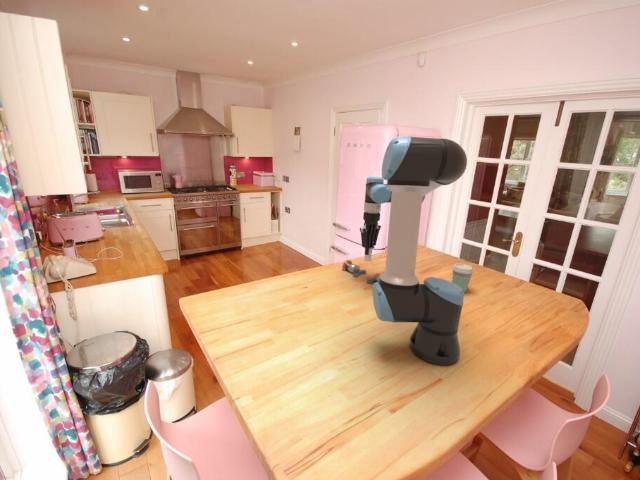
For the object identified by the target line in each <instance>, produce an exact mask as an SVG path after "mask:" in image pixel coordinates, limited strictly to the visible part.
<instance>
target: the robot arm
mask: <svg viewBox="0 0 640 480" xmlns="http://www.w3.org/2000/svg"><path fill="white" fill-rule="evenodd" d="M467 166H468V157H467V154H466V151H465V150H464V148H463V147H462V146H461V145H460V144H459V143H458V142H456V141H454V140H451V139H448V138H434V137H421V136H420V137H419V136H398V137H394V138H392V139H391V140H390V141H389V143H388V145H387V147H386V149H385V152H384V155H383V159H382V164H381V177H380V176H379V177H378V176H368V177H367V178H366V181H365V191H364V192H365V193H364V194H365V195H364V202H363V203H364V205H363V211H364V212H363V216H362V217H363V218H362V219H363V221H364V223H363V226H362V227H360V228H359V232H360V238H361V247H362V248H364V261H366V262H367V263H371V262H372V253H373V249H375V247H376V245H377V241H378V238H379V234H380V230H381V228H382V226H381V225H380V224H379V222H380V219H381V209H382V204H388V203H389V204H390V209H389V210H390V211H389V223H388V230H387V232H388V233H387V246H386V255H385V256H386V258H385V268H384V269H385V270H384V272H383V273H381V275H380V279H379V283H378V282H376V283H373V284H372V285H373V286H372V299H373V300H372V301H373V306H374V313H375V314H376V317H377V318H378V320H380V321H382V322H387V323H388V322H389V323H417V324H416V326H415V328H414V330H413V331H412V334H410V337H409V344H408V345H409V348H410V351H412V353H413V354H414V355H416V356H417V357H418V358H420V359H422V360H424V361H425V362H428V363H431V364H435V365H442V366H443V365H444V366H445V365H452V364H455V363H456V362H458V361H459V358H460V353H461V348H460V341H459V336H458V331H459V325H460V321H461V315H462V310H463V306H464V297H465V293H464V292H463V290H462V289H461V288H460V287H459V286H458V285H456V284H454V283H452V281H450V280H447V279H444V278H439V277H433V276H431V277H426V278H425V279H424V280H423V283H420V280H419V278H418V277H417V276H416V274H415V273H416V263H417V254H418V253H417V252H418V244H419V236H420V235H419V234H420V223H421V215H422V205H423V202H424V201H425V200H426V195H428V194H430V193H431V192H433V191H434V190H436V189H438V188H440V187H442V186H449V185H451V184H453V183H455V182H457V180H459V179H460V178H461V177H462V176H463V175H464V173H465V172H466V170H467ZM384 181H386V183H385V182H384Z"/></svg>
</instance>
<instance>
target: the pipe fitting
mask: <svg viewBox="0 0 640 480" xmlns="http://www.w3.org/2000/svg"><path fill="white" fill-rule="evenodd" d="M341 269H342V271H343V272H348V273H350V274H353V275H352V277H353V278H359V276H363V275H364V276H366V274H367V270H366V269H361V268H360V266H359V265H356V264H354V263H353V262H352V260H349V259H347V260H345V261H344V262H343V264H342V267H341ZM381 274H382V273H381ZM381 274H380V273H376V274H374V275H373V276H371V277H366V281H365V283H366V284H367V285H373V284H374V283H376V282H378V283H379V279H380V275H381Z"/></svg>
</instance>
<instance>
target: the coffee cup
mask: <svg viewBox="0 0 640 480" xmlns="http://www.w3.org/2000/svg"><path fill="white" fill-rule="evenodd" d="M473 274H474V270H473V267H472V265H471V266H470V265H468V264H465V263H454V264H453V266H452V279H451V280H452V281H451V282H452V283H454V284H456V285H458V286H459V287H460V288H461V289H462V290H463V292H464V294H465V293H467V290H468V288H469V284H470V281H471V278H472V275H473Z"/></svg>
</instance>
